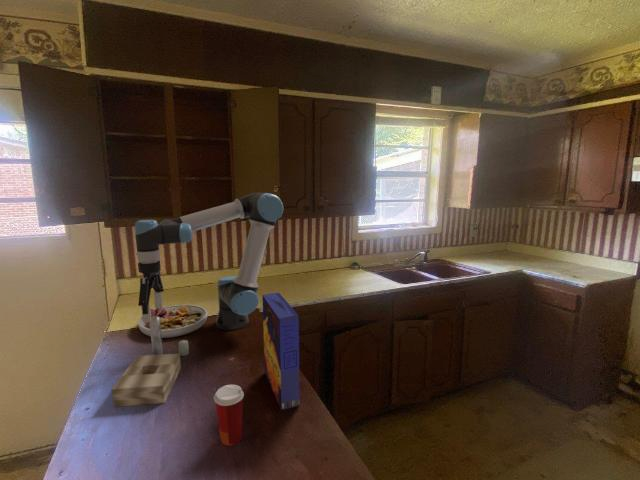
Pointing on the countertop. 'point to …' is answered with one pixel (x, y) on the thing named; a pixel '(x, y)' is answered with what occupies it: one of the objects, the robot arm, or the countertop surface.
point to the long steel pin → (156, 335)
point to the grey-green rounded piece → (183, 348)
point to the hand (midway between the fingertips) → (153, 314)
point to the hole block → (147, 380)
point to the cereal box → (281, 349)
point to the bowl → (176, 320)
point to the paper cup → (229, 413)
